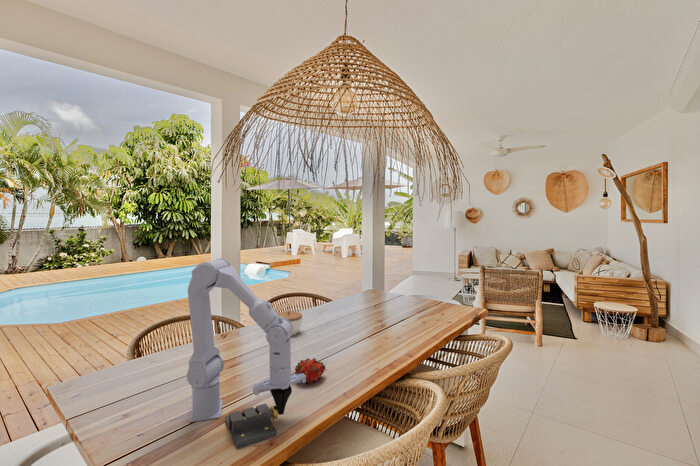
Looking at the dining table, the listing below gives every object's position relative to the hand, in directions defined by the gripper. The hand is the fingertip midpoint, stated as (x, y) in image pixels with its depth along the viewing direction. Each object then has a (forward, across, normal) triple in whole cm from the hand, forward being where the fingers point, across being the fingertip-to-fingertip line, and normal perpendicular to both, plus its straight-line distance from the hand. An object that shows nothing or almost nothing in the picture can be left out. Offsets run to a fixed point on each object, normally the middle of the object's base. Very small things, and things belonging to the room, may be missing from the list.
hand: (280, 412), depth 98 cm
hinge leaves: (+2, -8, 0) cm, 9 cm away
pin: (+1, -7, 0) cm, 7 cm away
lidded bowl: (+2, +28, +66) cm, 72 cm away
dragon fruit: (+2, +17, +17) cm, 24 cm away
